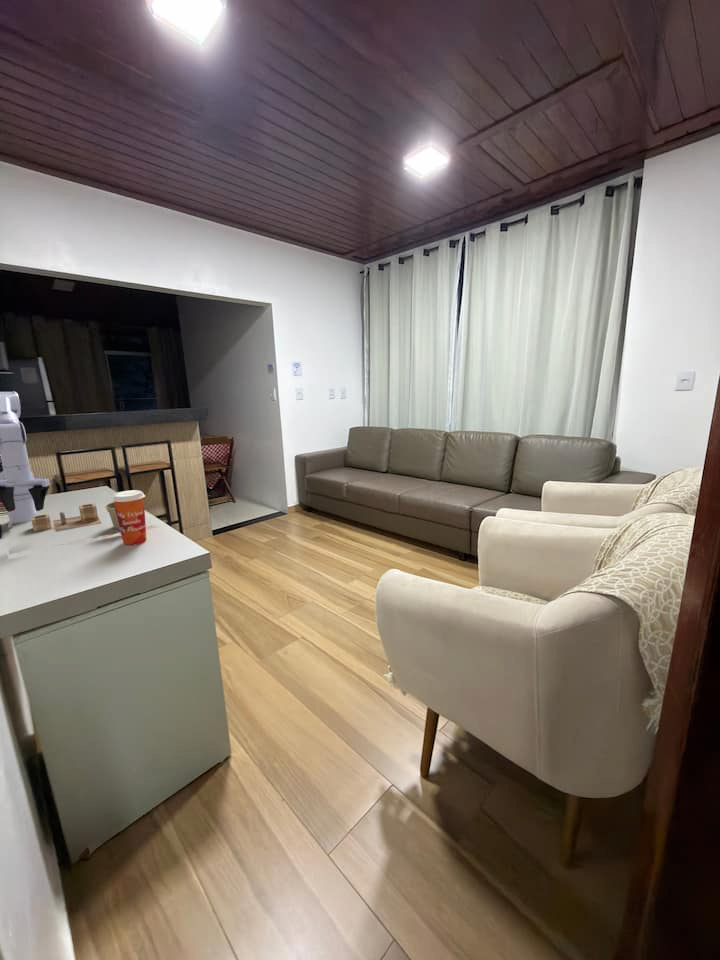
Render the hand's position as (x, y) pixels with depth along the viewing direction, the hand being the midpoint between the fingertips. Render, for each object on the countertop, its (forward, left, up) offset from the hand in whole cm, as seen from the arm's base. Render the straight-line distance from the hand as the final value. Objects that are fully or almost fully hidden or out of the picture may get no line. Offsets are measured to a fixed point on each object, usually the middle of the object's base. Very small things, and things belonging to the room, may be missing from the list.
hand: (25, 510), depth 111 cm
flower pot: (+7, +23, -10) cm, 26 cm away
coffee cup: (+21, +23, -10) cm, 33 cm away
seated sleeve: (-8, +15, -8) cm, 19 cm away
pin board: (-8, +12, -10) cm, 17 cm away
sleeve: (-8, +3, -10) cm, 13 cm away
